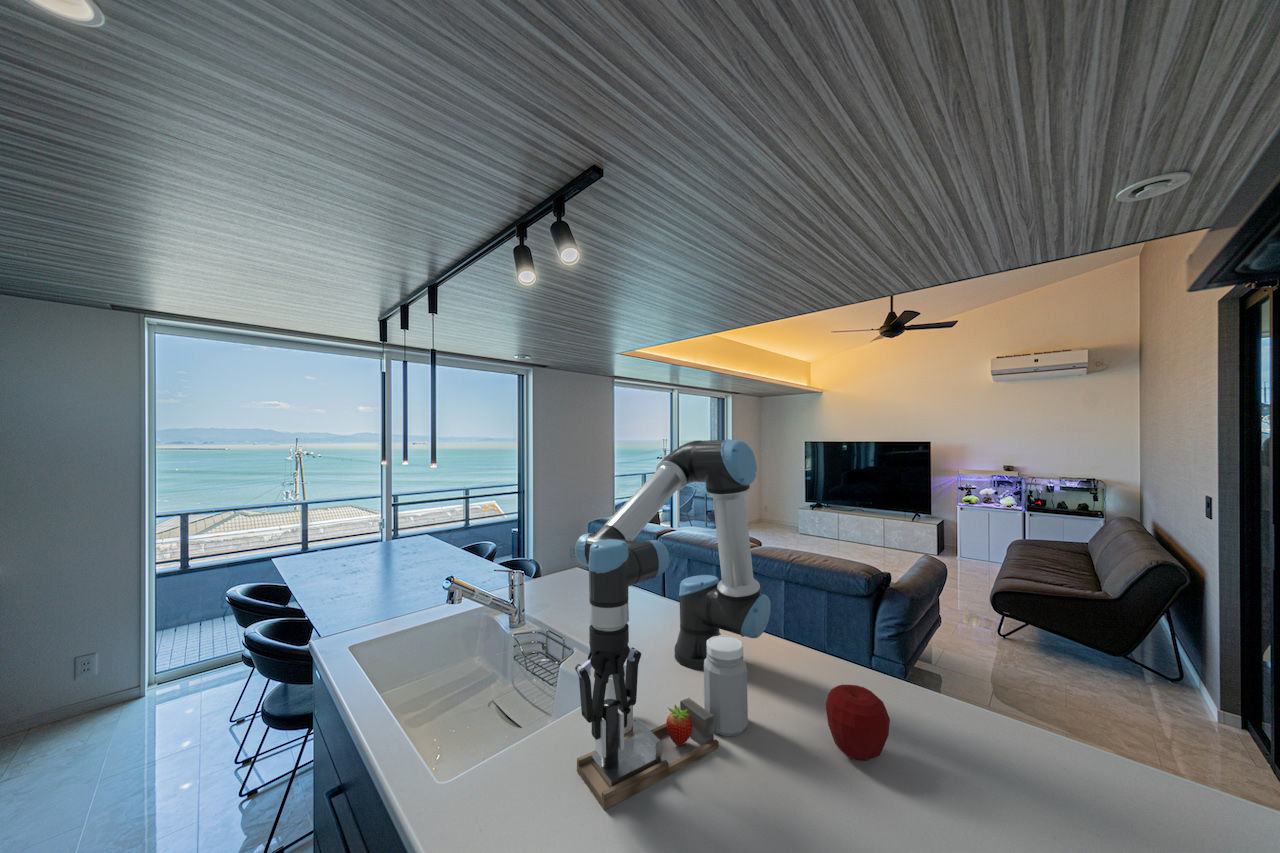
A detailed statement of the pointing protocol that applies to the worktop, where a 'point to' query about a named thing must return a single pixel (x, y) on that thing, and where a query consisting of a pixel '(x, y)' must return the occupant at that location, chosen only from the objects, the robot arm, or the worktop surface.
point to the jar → (726, 685)
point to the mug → (611, 695)
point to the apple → (857, 721)
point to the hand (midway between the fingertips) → (609, 749)
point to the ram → (625, 749)
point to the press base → (650, 776)
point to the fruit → (679, 726)
